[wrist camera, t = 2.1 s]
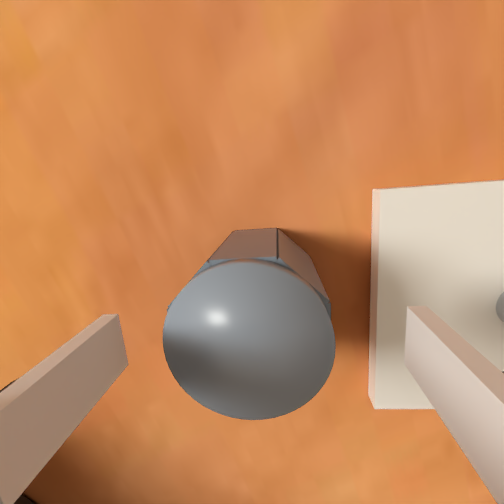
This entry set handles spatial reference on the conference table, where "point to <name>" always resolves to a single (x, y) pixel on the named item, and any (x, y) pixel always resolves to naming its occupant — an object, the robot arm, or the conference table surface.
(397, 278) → the stud board
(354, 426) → the conference table surface
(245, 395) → the cap
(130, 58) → the conference table surface
